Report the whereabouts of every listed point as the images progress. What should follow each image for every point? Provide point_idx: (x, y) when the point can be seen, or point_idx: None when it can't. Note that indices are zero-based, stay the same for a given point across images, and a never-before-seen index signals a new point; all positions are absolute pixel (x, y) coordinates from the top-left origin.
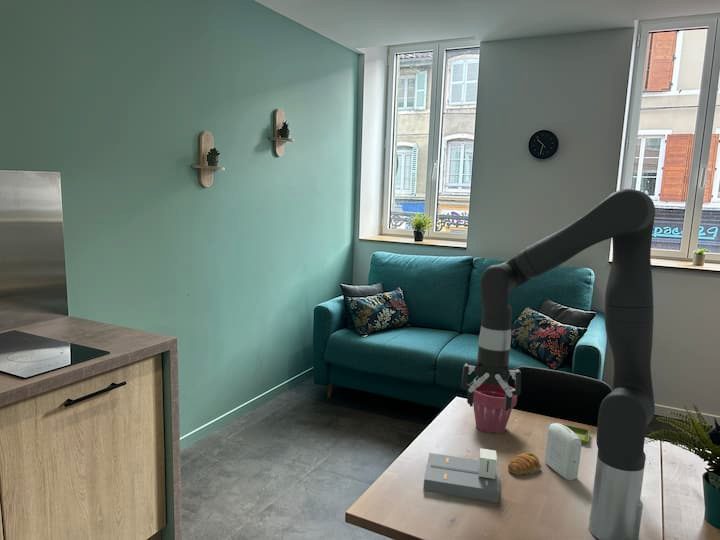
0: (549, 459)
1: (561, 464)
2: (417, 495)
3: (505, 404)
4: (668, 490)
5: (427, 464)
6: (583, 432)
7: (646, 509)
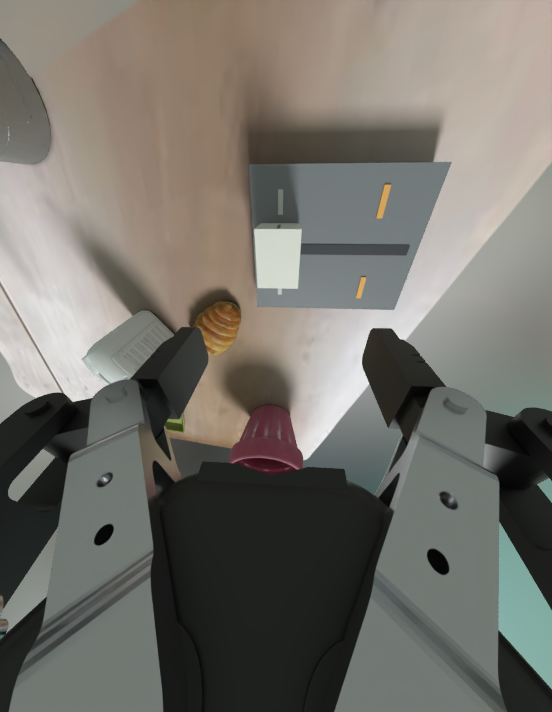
0: None
1: (149, 328)
2: (458, 129)
3: (186, 349)
4: (12, 319)
5: (414, 255)
6: None
7: (3, 248)
